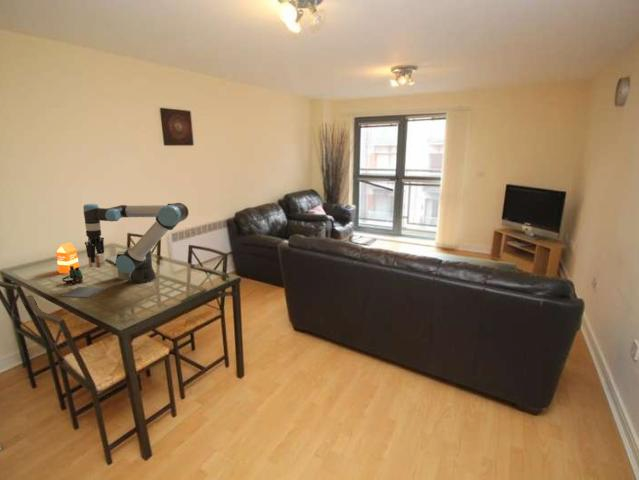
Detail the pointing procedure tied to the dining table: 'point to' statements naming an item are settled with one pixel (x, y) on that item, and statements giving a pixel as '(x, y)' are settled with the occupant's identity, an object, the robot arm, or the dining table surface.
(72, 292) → the mat
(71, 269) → the binoculars
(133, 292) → the dining table surface
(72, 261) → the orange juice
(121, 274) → the travel mug
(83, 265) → the dining table surface
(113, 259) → the tablet
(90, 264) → the wooden block
